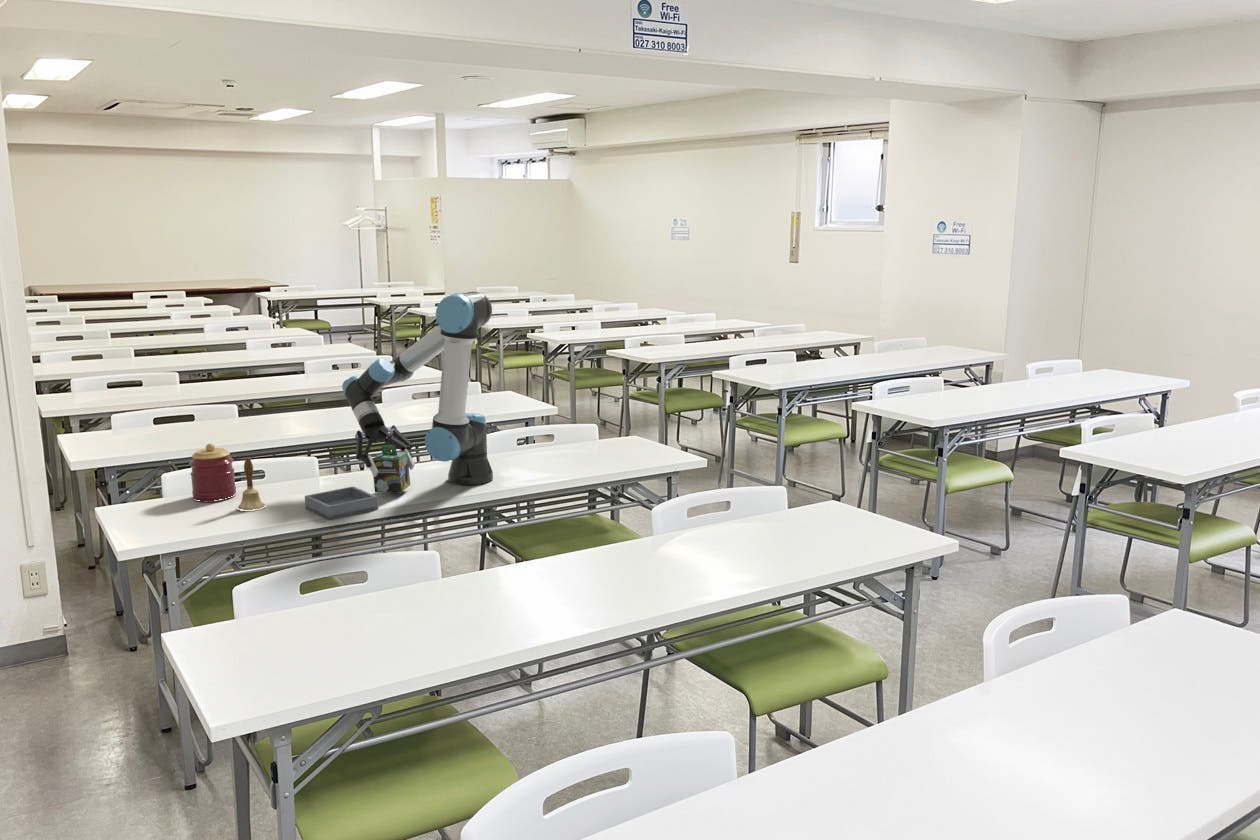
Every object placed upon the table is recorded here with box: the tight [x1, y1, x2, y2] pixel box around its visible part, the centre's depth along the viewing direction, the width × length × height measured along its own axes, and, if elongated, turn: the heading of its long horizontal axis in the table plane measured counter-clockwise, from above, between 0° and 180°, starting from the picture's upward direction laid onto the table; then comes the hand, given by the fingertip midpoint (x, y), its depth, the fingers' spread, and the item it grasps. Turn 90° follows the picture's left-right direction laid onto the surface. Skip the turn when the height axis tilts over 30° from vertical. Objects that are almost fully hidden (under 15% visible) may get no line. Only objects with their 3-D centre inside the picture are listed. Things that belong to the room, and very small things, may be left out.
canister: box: [188, 443, 237, 501], centre depth 309 cm, size 13×13×18 cm
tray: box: [304, 486, 379, 521], centre depth 297 cm, size 16×16×4 cm
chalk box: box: [372, 444, 411, 494], centre depth 312 cm, size 9×9×15 cm
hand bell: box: [237, 457, 266, 510], centre depth 297 cm, size 8×8×16 cm
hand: (394, 471), depth 311 cm, fingers closed on chalk box, 12 cm apart
